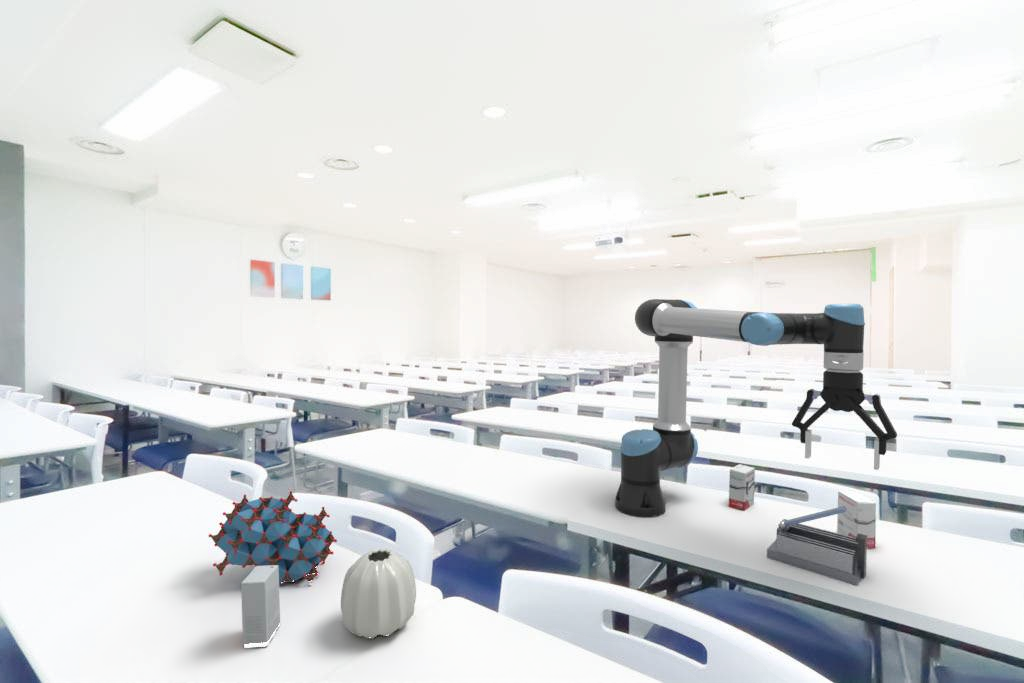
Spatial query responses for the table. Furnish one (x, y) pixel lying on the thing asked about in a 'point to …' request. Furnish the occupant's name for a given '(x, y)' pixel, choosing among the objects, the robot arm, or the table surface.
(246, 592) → the skincare box
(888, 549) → the table surface
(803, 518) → the blue long flat bar
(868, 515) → the ink box
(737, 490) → the ink box
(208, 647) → the table surface
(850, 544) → the heatsink
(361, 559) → the vase
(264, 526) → the molecule model
